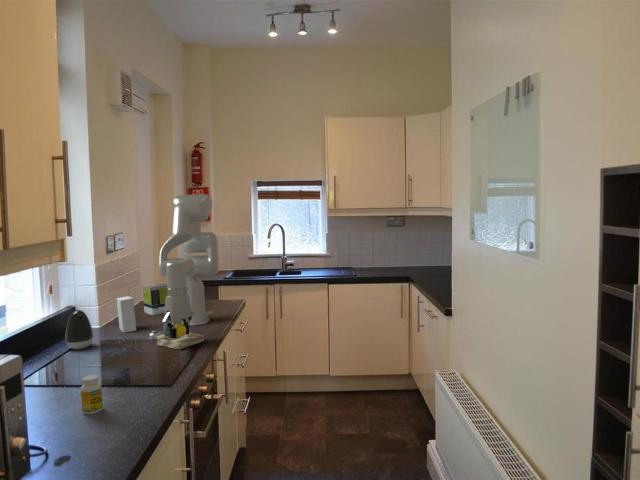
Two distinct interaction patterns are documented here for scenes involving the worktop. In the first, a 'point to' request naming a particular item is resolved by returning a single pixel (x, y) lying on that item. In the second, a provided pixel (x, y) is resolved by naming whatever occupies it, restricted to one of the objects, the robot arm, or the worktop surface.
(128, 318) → the skincare box
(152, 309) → the tea box
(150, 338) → the hub
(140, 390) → the worktop surface
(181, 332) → the lemon
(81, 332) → the grey dome gadget
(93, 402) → the supplement bottle
